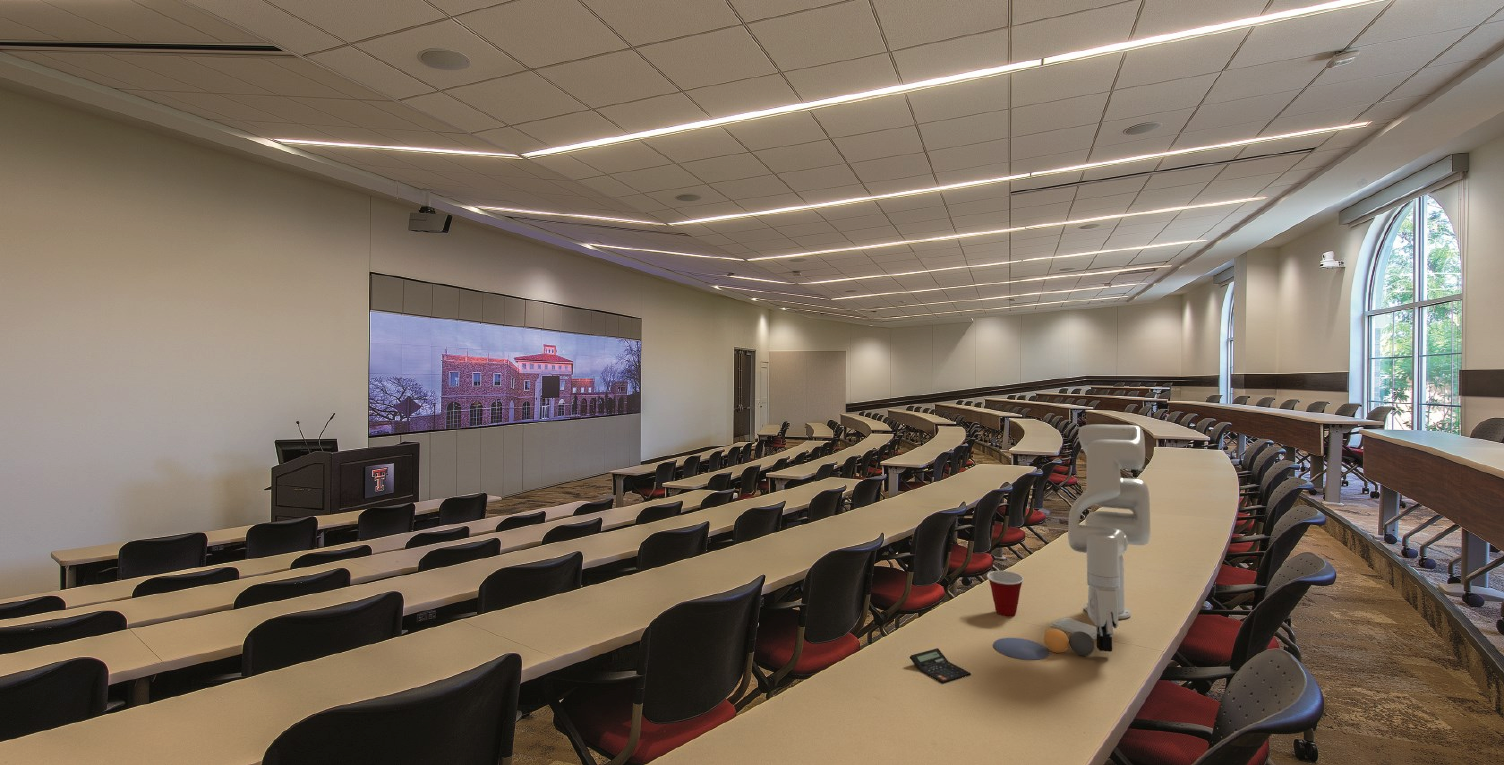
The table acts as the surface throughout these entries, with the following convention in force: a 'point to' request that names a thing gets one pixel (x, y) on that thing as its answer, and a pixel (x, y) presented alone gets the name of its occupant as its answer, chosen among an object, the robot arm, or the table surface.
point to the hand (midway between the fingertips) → (1104, 650)
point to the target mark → (1021, 648)
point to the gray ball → (1081, 643)
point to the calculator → (938, 666)
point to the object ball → (1056, 640)
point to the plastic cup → (1005, 591)
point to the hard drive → (1075, 627)
